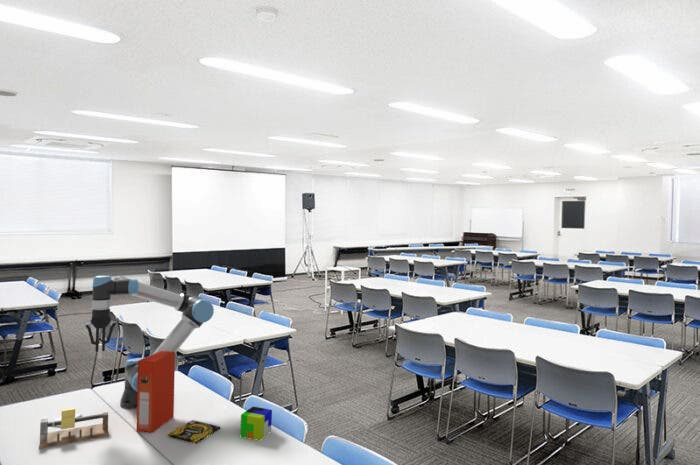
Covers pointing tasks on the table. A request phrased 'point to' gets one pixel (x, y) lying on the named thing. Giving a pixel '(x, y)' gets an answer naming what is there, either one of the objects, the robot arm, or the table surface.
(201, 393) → the table surface
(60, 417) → the external hard drive
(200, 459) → the table surface
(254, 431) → the puzzle toy
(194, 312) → the robot arm
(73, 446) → the table surface
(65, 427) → the sleeve
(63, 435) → the comb stand
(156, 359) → the file binder
